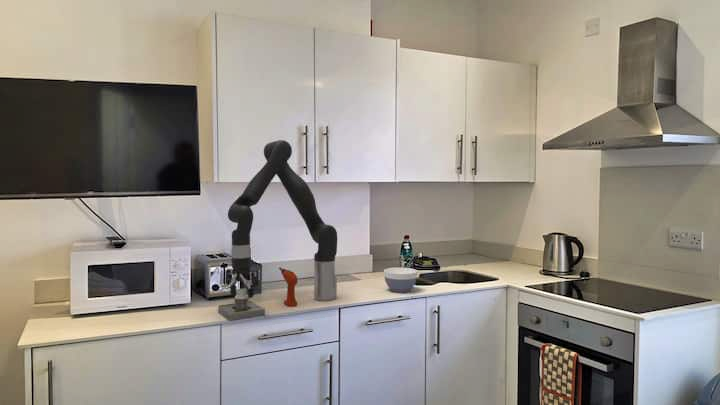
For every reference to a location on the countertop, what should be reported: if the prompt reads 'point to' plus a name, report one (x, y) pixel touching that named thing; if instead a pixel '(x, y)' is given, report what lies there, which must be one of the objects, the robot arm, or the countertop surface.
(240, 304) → the pill bottle
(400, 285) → the bowl
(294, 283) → the toy drill
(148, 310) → the countertop surface
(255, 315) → the grey flat square block
